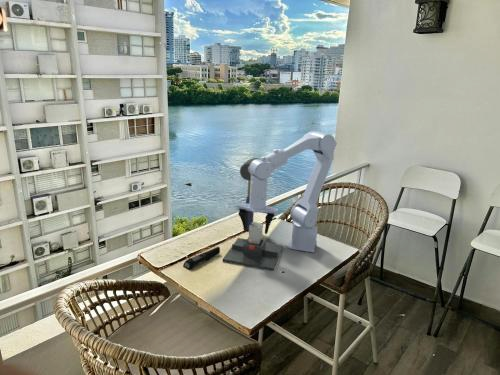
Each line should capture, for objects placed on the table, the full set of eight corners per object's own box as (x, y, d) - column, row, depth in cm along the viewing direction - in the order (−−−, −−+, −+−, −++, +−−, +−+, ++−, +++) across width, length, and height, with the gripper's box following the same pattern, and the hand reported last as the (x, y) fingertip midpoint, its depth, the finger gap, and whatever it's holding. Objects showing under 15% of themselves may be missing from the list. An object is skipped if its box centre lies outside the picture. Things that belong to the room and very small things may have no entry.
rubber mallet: (244, 222, 158) (248, 155, 149) (261, 224, 156) (265, 157, 147) (235, 233, 147) (238, 161, 138) (253, 236, 145) (257, 163, 136)
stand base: (283, 247, 136) (284, 235, 135) (273, 271, 120) (274, 257, 118) (238, 240, 141) (238, 228, 139) (222, 261, 124) (222, 248, 123)
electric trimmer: (222, 256, 129) (223, 248, 128) (189, 271, 117) (189, 262, 116) (215, 252, 131) (215, 244, 130) (182, 267, 120) (182, 258, 119)
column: (261, 243, 131) (263, 223, 128) (258, 248, 127) (260, 227, 124) (251, 242, 131) (252, 221, 129) (248, 246, 128) (249, 226, 125)
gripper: (234, 195, 122) (232, 232, 126) (276, 201, 118) (273, 238, 122) (240, 189, 128) (238, 224, 132) (280, 194, 125) (277, 230, 129)
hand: (255, 231), depth 128 cm, fingers open, 7 cm apart
